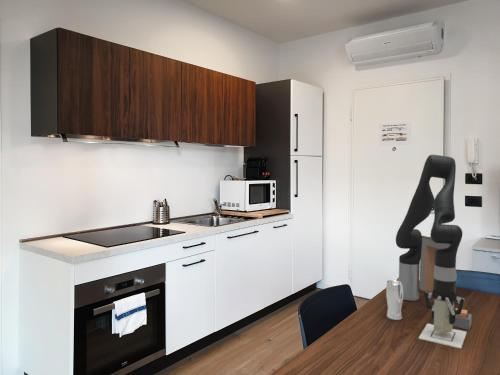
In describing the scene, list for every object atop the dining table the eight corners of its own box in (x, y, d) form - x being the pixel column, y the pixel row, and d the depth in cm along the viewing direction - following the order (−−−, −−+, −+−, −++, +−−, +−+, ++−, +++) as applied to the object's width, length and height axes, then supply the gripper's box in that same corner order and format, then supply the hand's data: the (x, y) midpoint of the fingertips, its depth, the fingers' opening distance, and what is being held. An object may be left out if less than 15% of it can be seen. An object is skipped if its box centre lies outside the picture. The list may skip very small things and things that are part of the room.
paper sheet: (418, 338, 147) (418, 337, 147) (427, 324, 161) (427, 323, 161) (461, 348, 140) (461, 347, 139) (466, 332, 153) (466, 331, 153)
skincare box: (444, 335, 146) (445, 302, 146) (432, 330, 150) (433, 299, 149) (452, 330, 150) (454, 299, 149) (441, 326, 154) (442, 295, 153)
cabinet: (419, 290, 204) (420, 235, 202) (434, 288, 207) (436, 234, 205) (451, 303, 184) (453, 243, 182) (467, 301, 187) (469, 242, 185)
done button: (454, 317, 159) (454, 311, 159) (455, 314, 163) (455, 308, 163) (465, 319, 157) (466, 313, 157) (467, 316, 160) (467, 310, 160)
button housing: (449, 325, 159) (449, 315, 159) (452, 320, 165) (452, 310, 165) (469, 329, 155) (469, 319, 155) (471, 324, 161) (471, 314, 161)
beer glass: (384, 318, 167) (385, 283, 166) (386, 313, 173) (387, 279, 172) (401, 321, 163) (402, 285, 162) (404, 315, 169) (404, 281, 169)
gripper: (422, 276, 150) (420, 320, 151) (465, 283, 142) (463, 330, 143) (426, 272, 156) (424, 314, 157) (467, 278, 148) (466, 323, 149)
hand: (443, 321), depth 150 cm, fingers closed on skincare box, 5 cm apart
